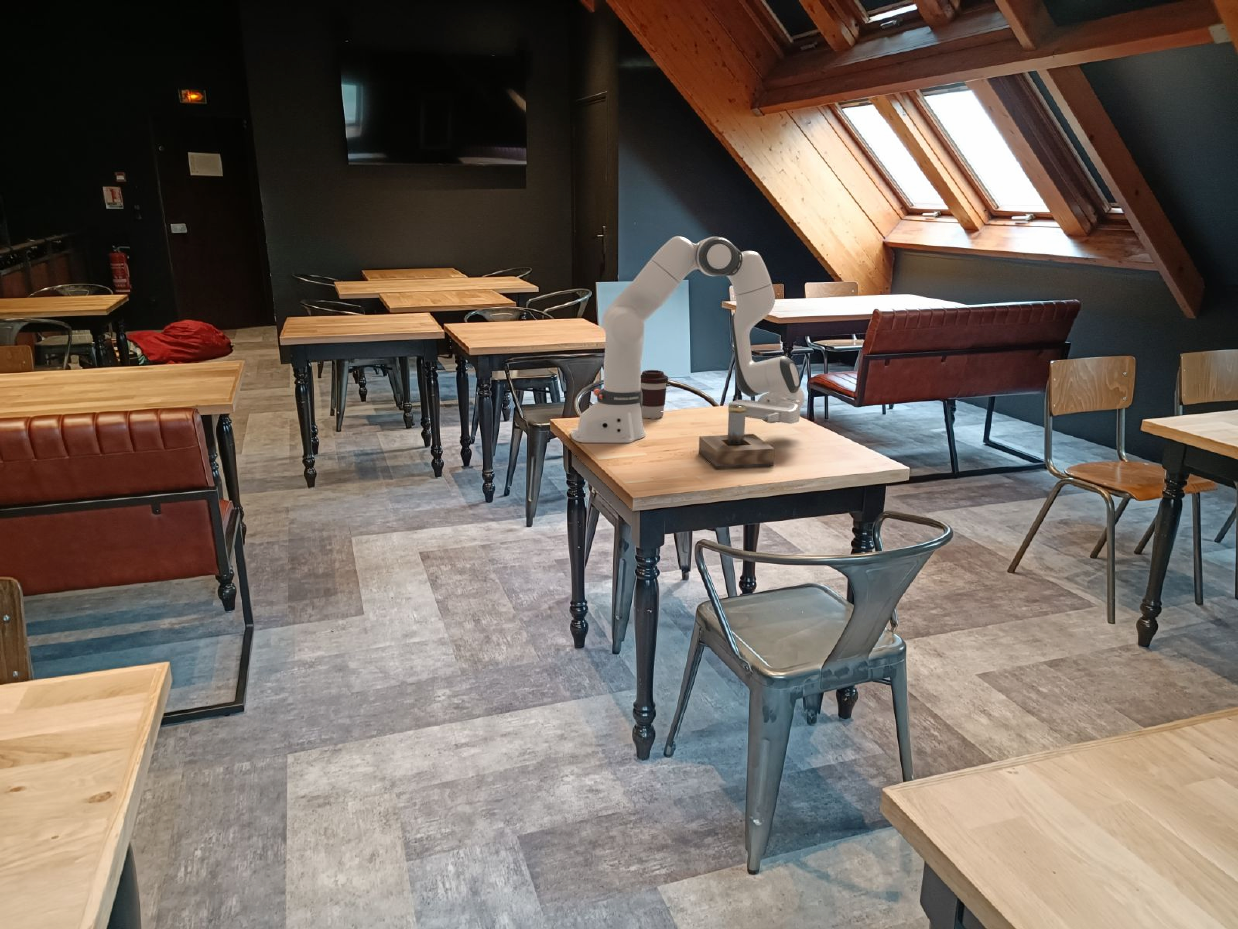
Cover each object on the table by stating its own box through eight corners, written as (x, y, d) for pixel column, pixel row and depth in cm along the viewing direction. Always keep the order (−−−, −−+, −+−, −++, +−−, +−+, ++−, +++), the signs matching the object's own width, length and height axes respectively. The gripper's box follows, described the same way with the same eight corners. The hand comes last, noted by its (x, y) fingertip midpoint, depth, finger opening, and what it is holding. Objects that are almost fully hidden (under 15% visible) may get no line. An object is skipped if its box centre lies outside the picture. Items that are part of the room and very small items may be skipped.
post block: (716, 469, 235) (717, 451, 234) (698, 453, 250) (699, 436, 249) (773, 466, 238) (774, 448, 237) (752, 450, 253) (753, 433, 252)
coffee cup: (631, 415, 295) (632, 370, 291) (657, 412, 299) (658, 368, 295) (646, 421, 287) (646, 375, 282) (672, 418, 291) (673, 373, 287)
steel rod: (729, 458, 241) (731, 408, 238) (724, 454, 246) (726, 404, 242) (746, 458, 242) (748, 407, 239) (740, 453, 247) (742, 404, 243)
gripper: (740, 392, 264) (718, 400, 253) (805, 401, 253) (785, 410, 242) (739, 413, 266) (717, 422, 255) (804, 422, 255) (784, 432, 244)
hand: (751, 416), depth 248 cm, fingers open, 8 cm apart
